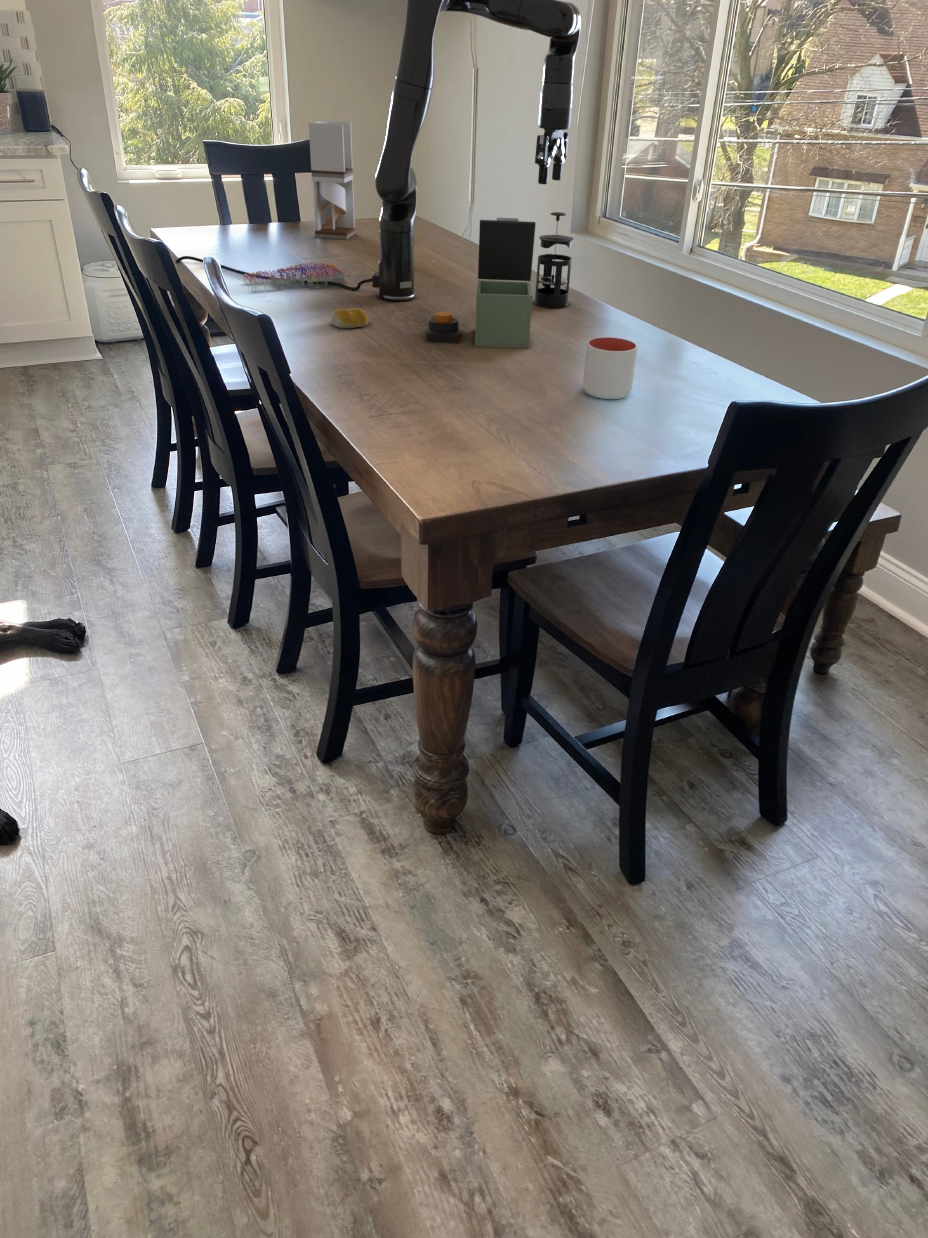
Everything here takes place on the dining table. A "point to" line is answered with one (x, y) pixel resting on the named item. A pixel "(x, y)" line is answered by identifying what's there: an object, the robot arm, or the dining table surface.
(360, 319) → the bread roll
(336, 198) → the white tower
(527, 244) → the lid
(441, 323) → the block
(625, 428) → the dining table surface
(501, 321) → the sage green box
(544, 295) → the french press
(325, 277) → the multicoloured piece
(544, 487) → the dining table surface
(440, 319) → the button
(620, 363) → the cup
